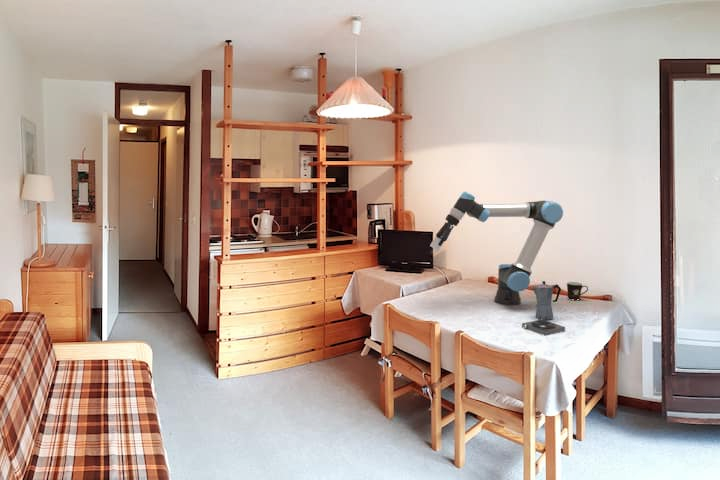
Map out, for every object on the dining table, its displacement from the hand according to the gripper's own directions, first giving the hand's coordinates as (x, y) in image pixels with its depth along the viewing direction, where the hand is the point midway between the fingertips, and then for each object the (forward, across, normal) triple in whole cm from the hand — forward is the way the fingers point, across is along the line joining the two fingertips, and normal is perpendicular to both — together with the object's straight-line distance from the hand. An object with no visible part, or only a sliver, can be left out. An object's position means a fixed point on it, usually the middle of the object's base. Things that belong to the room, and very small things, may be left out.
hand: (433, 248), depth 263 cm
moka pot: (-1, +20, +67) cm, 70 cm away
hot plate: (+3, +39, +60) cm, 71 cm away
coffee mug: (-20, -18, +96) cm, 99 cm away
